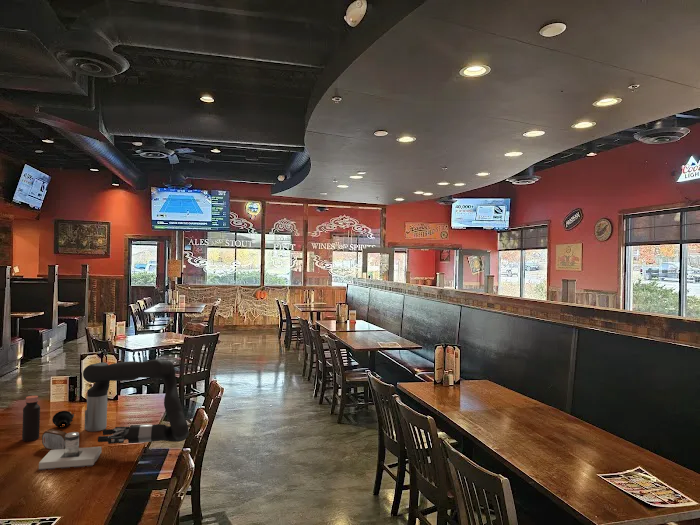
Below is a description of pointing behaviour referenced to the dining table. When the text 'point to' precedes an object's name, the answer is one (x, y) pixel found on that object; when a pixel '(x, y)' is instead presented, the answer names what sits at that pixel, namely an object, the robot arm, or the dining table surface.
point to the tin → (54, 439)
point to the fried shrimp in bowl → (62, 418)
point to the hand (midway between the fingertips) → (100, 435)
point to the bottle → (31, 419)
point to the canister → (72, 444)
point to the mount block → (70, 458)
